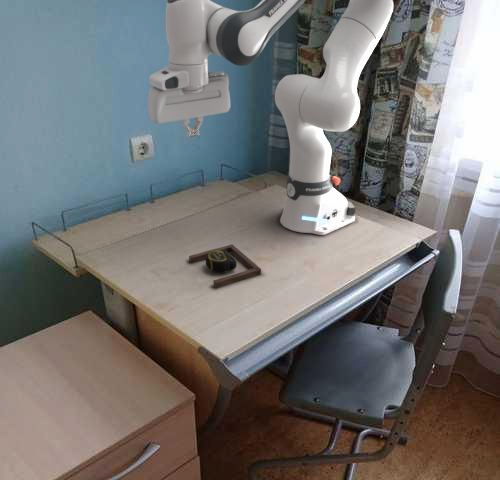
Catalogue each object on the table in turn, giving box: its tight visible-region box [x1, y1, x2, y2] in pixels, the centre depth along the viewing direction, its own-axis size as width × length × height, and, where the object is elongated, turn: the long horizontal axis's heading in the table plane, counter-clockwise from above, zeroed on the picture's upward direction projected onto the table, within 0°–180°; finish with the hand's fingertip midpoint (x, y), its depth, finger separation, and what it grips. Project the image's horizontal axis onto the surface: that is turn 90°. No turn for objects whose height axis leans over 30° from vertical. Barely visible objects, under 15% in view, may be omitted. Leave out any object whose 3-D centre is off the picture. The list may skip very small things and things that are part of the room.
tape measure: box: [205, 249, 238, 274], centre depth 128 cm, size 7×7×4 cm
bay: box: [188, 243, 262, 289], centre depth 129 cm, size 13×14×2 cm
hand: (192, 135), depth 126 cm, fingers closed
